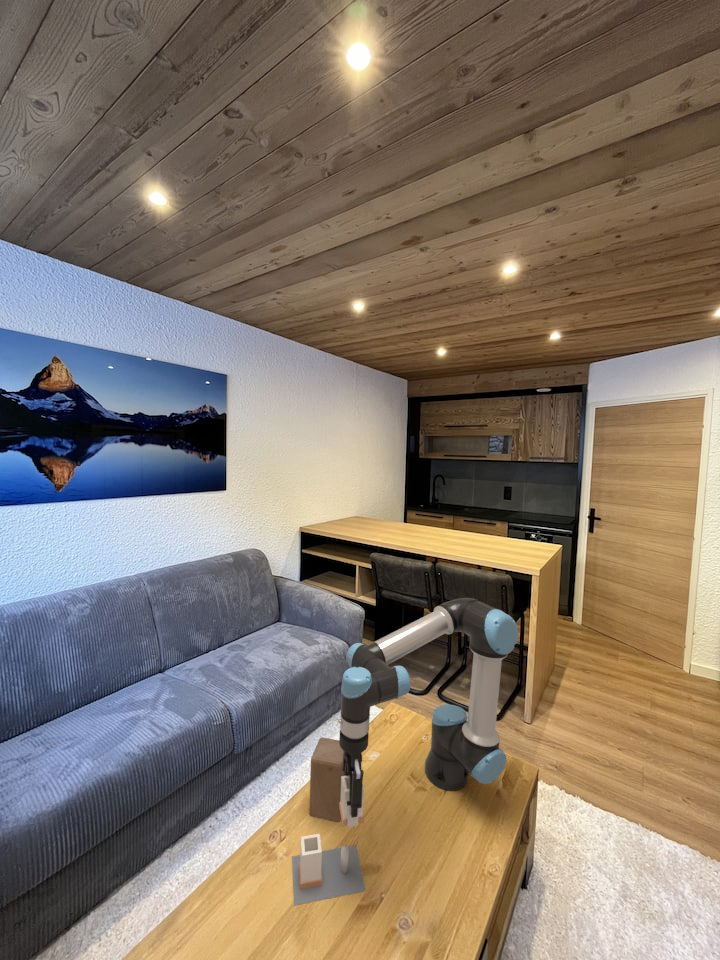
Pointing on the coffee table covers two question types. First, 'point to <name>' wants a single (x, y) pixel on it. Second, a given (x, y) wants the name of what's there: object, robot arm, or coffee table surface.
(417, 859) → the coffee table surface
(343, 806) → the sleeve
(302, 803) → the coffee table surface
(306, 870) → the sleeve
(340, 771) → the wooden block
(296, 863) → the pin board
